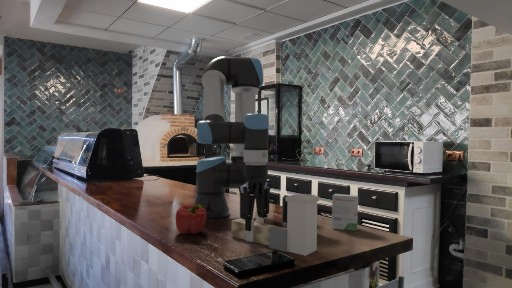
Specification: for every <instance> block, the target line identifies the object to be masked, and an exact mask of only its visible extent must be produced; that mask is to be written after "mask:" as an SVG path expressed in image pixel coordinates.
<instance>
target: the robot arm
mask: <svg viewBox="0 0 512 288" xmlns="http://www.w3.org/2000/svg"><path fill="white" fill-rule="evenodd" d="M201 84H202V86H203V109H202V110H203V111H202V112H203V114H202V115H203V116H202V120H199V121H197V125H196V139H197V140H196V141H197V143H199V144H205V145H234V152H233V153H232V154H231V155H230V159H229V160H228V159H227V158H226V156H214V157H206V158H201V159H200V160H198V161H197V163H196V170H195V173H196V187H195V188H196V189H195V190H196V191H195V192H196V194H195V199H194V203H193V206H194V205H196V204H198V205H201V206H202V207H203V209H205V210H206V213H207V216H206V219H220V218H225V217H228V216H229V215H230V208H229V207H230V206H228V201H227V198H226V190H228V189H229V190H230V189H231V190H232V189H235V190H238V192H239V217H240V218H239V219H244V220H245V230H246V240H245V241H246V242H250V243H255V242H254V222H259V223H264V224H265V218H268V215H269V214H270V200H271V199H270V197H271V187H272V183H271V182H267V181H266V178H267V177H268V175H269V166H268V162H269V132H270V131H269V129H270V128H269V127H270V123H269V122H270V121H269V116H268V115H267V114H265V113H256V111H257V110H256V109H257V108H256V106H257V105H256V101H257V100H256V97H257V96H256V94H257V93H258V92H259V91H260V88H261V87H262V86H263V85H264V70H263V64H262V62H261V60H260V59H259V58H257V57H249V56H248V57H247V56H226V55H225V56H219V57H217V58H214V59H212V60H211V61H210V62H208V64H206V66H205V67H204V69H203V70H202V74H201ZM225 86H230V88H231V91H232V93H233V94H234V121H226V112H225V110H226V109H225V89H224V88H225ZM255 205H256V213H257V216H255V220H254V219H253V217H254V211H255Z"/></svg>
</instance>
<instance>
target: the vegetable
mask: <svg viewBox="0 0 512 288" xmlns="http://www.w3.org/2000/svg"><path fill="white" fill-rule="evenodd" d="M206 216H207V213H206V210H205V209H203V207H202V206H201V205H198V204H196V205H194V204H193V205H191V204H183V205H180V207H179V208H178V209H177V210H176V213H175V226H176V229H177V231H178V232H179V233H180V234H182V235H188V234H190V235H196V234H198V233H200V232H201V230H203V227H204V226H205V224H206V221H207V218H206Z"/></svg>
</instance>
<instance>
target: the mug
mask: <svg viewBox="0 0 512 288" xmlns="http://www.w3.org/2000/svg"><path fill="white" fill-rule="evenodd" d="M287 196H288V195H284V196H283V197H282V201H281V203H282V205H281V206H282V207H281V210H282V211H281V221H282V223H284V222H285V223H287V204H288V201H286V197H287Z"/></svg>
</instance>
